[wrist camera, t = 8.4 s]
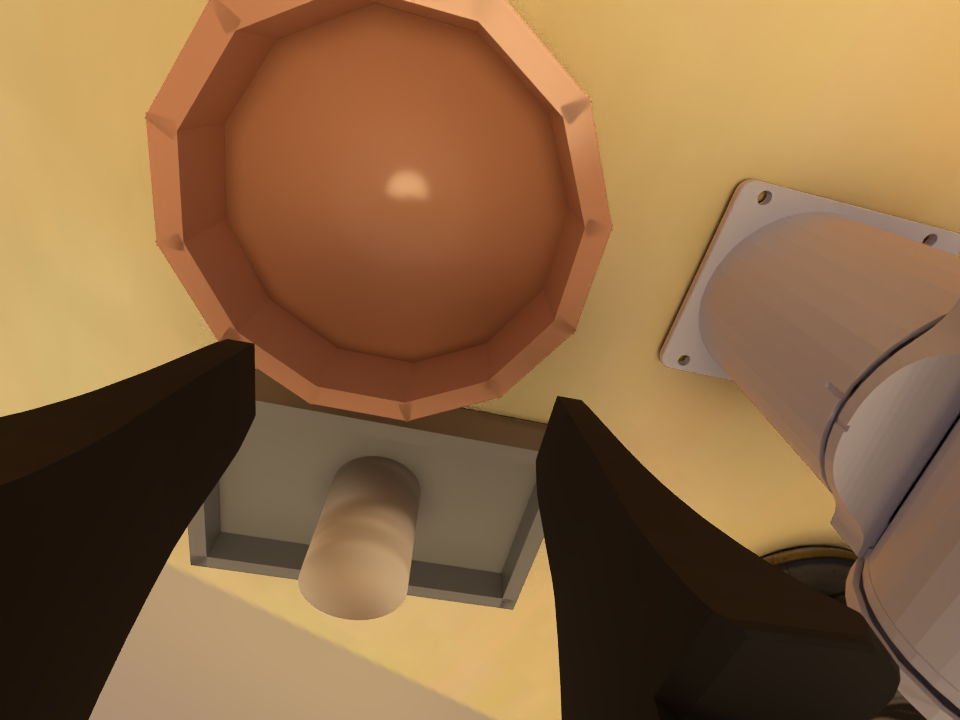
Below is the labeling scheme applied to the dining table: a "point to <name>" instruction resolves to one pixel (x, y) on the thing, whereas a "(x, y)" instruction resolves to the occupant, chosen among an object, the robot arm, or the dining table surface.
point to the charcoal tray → (416, 444)
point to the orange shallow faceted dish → (379, 195)
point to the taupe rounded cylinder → (363, 541)
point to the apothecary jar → (835, 597)
